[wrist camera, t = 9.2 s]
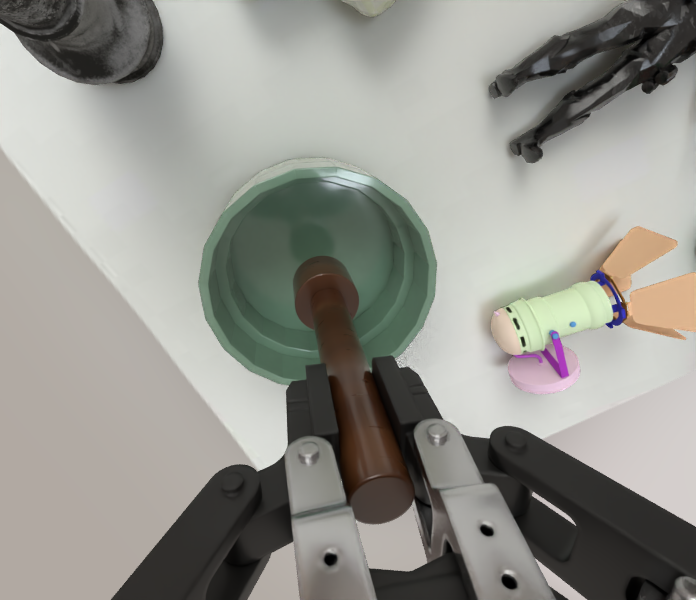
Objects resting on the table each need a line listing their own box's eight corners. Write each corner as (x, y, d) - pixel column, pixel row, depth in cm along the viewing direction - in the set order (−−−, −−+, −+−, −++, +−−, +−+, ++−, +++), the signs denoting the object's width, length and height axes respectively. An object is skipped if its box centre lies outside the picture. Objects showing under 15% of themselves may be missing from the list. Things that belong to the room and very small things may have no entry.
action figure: (470, -37, 19) (906, -343, 16) (441, -14, 23) (792, -259, 20) (566, 240, 26) (882, 60, 23) (532, 223, 30) (801, 66, 27)
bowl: (198, 162, 24) (175, 174, 18) (409, 152, 26) (443, 161, 20) (231, 348, 29) (221, 400, 24) (403, 330, 31) (429, 374, 26)
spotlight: (622, 219, 30) (699, 249, 23) (635, 312, 33) (707, 362, 26) (467, 275, 32) (497, 317, 25) (493, 357, 35) (525, 415, 29)
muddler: (290, 257, 23) (309, 461, 9) (349, 253, 23) (450, 440, 10) (295, 311, 24) (318, 556, 11) (350, 306, 24) (442, 534, 11)
